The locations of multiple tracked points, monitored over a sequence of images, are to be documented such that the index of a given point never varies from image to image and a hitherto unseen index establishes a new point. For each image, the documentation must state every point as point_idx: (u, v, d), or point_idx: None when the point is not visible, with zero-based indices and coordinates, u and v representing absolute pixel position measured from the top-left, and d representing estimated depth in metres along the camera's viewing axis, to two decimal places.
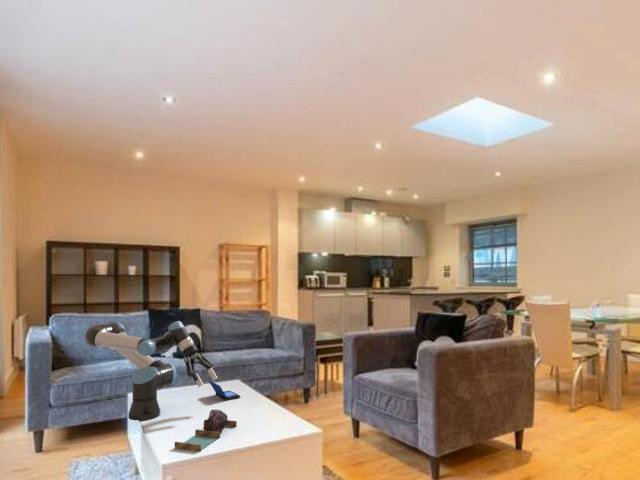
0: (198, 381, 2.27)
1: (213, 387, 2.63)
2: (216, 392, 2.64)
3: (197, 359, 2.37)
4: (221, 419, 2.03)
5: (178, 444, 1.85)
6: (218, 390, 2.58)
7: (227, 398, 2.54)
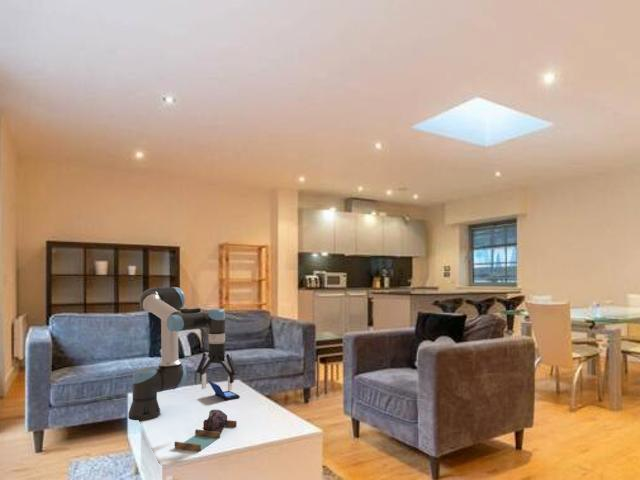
0: None
1: (212, 387, 2.63)
2: (215, 392, 2.64)
3: (216, 360, 2.07)
4: (221, 419, 2.03)
5: (178, 444, 1.85)
6: (217, 390, 2.58)
7: (226, 398, 2.54)
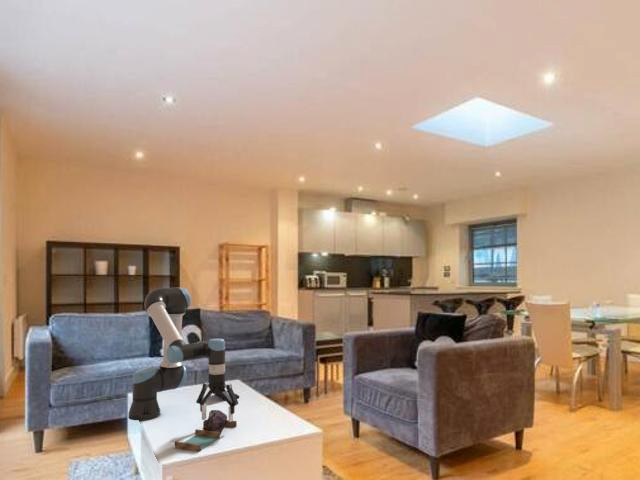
0: None
1: None
2: None
3: (216, 391, 2.06)
4: (221, 419, 2.03)
5: (178, 444, 1.85)
6: None
7: None
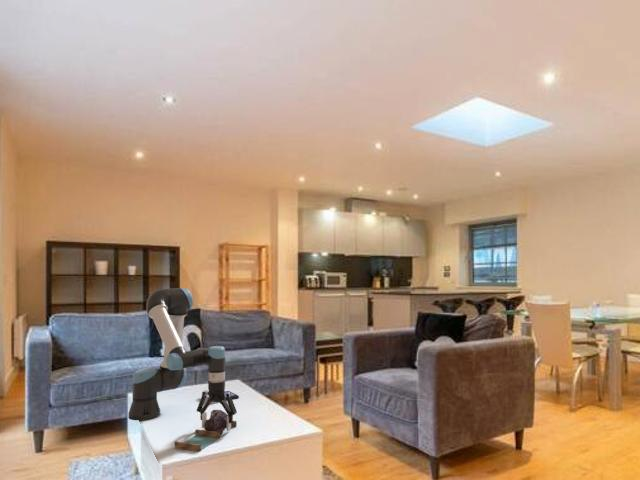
0: None
1: None
2: None
3: (215, 399, 2.05)
4: (222, 419, 2.02)
5: (178, 444, 1.85)
6: None
7: None
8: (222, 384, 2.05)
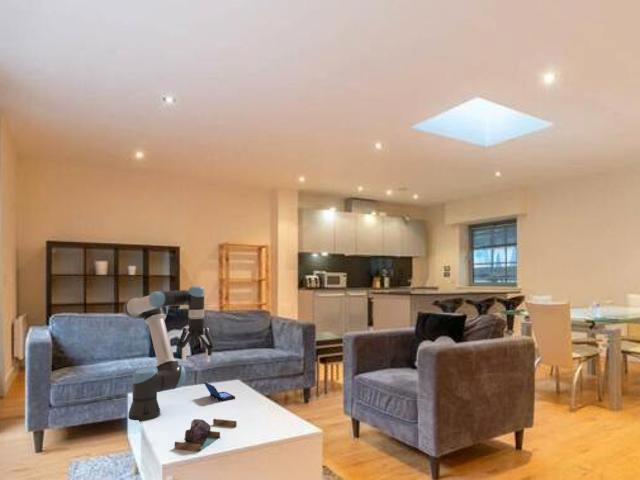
0: None
1: (208, 388, 2.61)
2: (211, 393, 2.62)
3: (195, 334, 2.21)
4: (203, 430, 1.88)
5: (178, 444, 1.85)
6: (213, 391, 2.56)
7: (222, 399, 2.53)
8: (201, 320, 2.21)
